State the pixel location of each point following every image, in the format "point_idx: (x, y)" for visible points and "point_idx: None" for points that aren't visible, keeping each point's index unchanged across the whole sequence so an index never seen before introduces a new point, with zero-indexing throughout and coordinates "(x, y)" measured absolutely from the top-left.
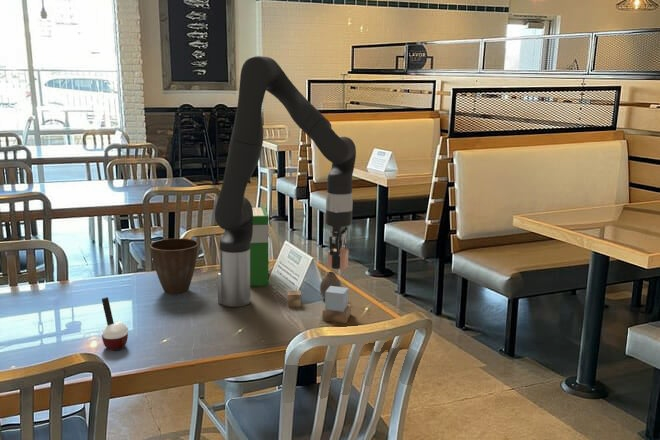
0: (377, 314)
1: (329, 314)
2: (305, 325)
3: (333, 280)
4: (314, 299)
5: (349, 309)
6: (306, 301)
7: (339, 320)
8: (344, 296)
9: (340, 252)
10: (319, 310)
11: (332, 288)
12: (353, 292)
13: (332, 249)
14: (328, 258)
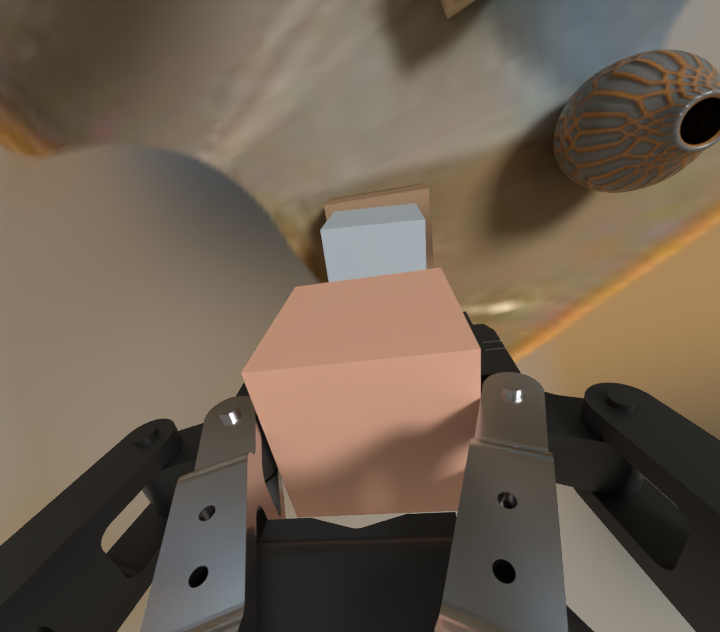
0: None
1: None
2: (252, 154)
3: (624, 158)
4: (570, 47)
5: None
6: (530, 14)
7: None
8: None
9: (280, 489)
10: (427, 141)
11: (385, 246)
12: (699, 204)
13: (200, 465)
14: (269, 334)
